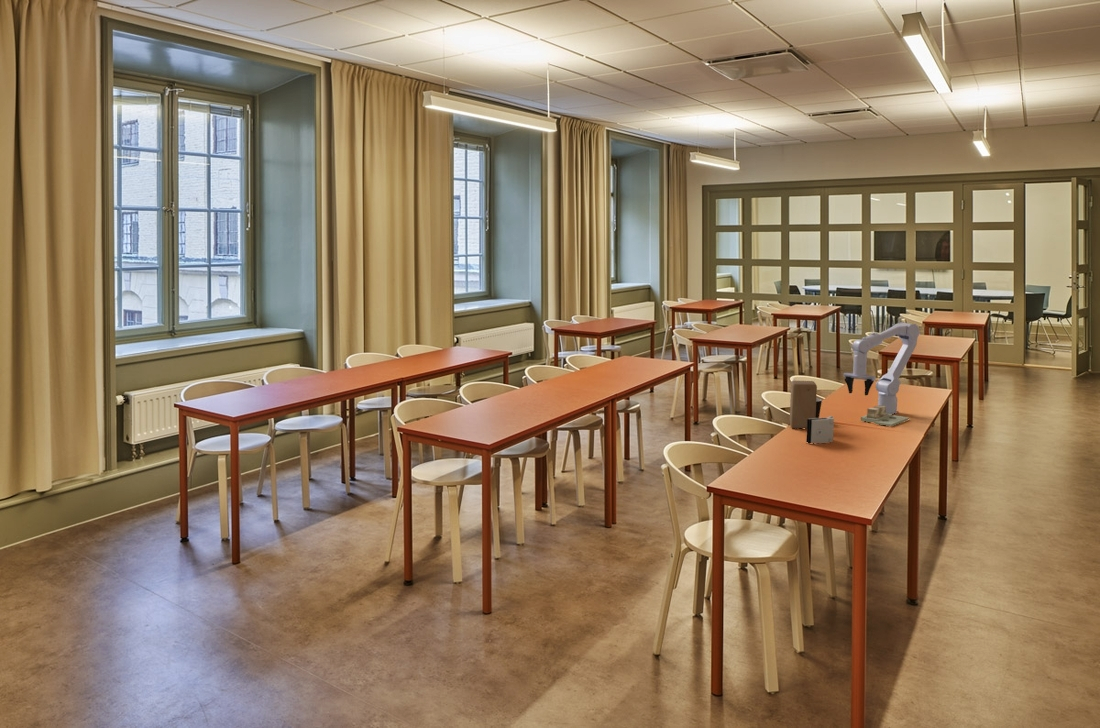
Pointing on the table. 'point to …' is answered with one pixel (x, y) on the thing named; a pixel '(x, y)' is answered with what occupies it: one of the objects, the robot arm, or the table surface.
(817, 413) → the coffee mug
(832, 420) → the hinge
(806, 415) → the wooden block
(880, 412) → the birch door
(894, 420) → the sage cabinet frame
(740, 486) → the table surface
